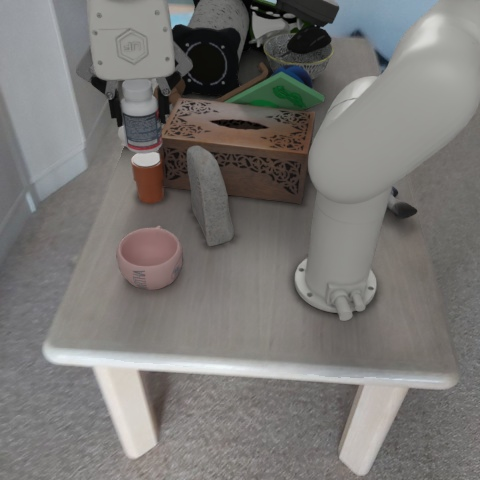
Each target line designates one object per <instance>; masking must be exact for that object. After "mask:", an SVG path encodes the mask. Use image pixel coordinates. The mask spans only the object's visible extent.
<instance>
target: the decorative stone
mask: <svg viewBox="0 0 480 480" xmlns="http://www.w3.org/2000/svg"><path fill="white" fill-rule="evenodd" d="M187 167H188V175H189V180H190V187H191V190H190V194H191V198H190V199H191V210H192V213H193V215H194V216H195V218H196V219H197V222H198V224H199V226H200V228H201V231H202V232H203V235H204V239H205V242H206V245H207V246H208V247H215V246H219V245H221V244H225V243H228V242H230V241H232V240H233V238H234V235H235V229H234V228H235V227H234V226H233V223H232V218H231V217H232V216H231V213H230V211H229V195H227V191H226V188H225V184H224V180H223V177H222V174H221V171H220V169H219V165H218V163H217V160H216V159H215V158H214V157H213V155H212V154H211V153H210V152H208V151H207V150H205V149H204V148H202V147H200V146H192V147H190V148H189V149H188V150H187Z"/></svg>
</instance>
